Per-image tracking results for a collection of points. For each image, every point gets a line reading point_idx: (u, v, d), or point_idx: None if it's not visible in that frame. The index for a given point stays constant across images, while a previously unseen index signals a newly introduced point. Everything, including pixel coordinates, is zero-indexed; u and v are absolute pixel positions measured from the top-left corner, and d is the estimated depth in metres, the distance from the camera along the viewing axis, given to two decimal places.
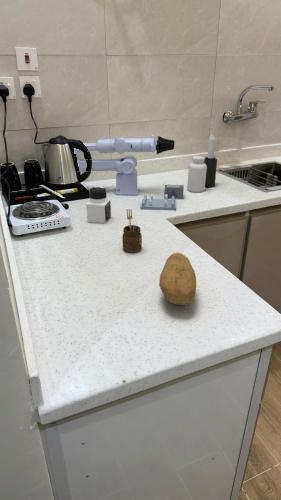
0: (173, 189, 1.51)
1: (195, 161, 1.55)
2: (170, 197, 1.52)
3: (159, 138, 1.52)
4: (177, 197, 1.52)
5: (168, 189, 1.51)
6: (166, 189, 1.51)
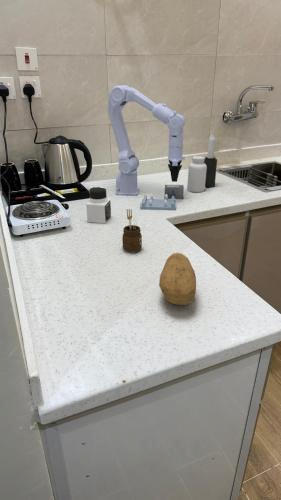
0: (173, 189, 1.51)
1: (195, 161, 1.55)
2: (170, 197, 1.52)
3: (180, 161, 1.51)
4: (178, 197, 1.52)
5: (168, 189, 1.51)
6: (166, 189, 1.51)
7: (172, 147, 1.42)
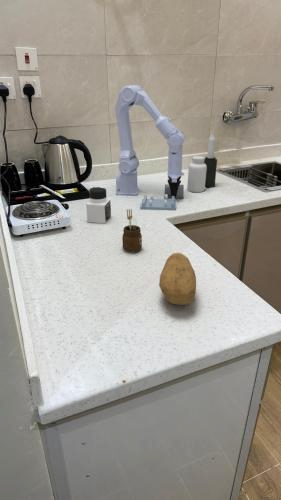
0: None
1: (195, 161, 1.55)
2: (170, 197, 1.52)
3: (179, 178, 1.53)
4: (178, 196, 1.52)
5: (168, 189, 1.51)
6: (166, 189, 1.51)
7: (171, 164, 1.46)
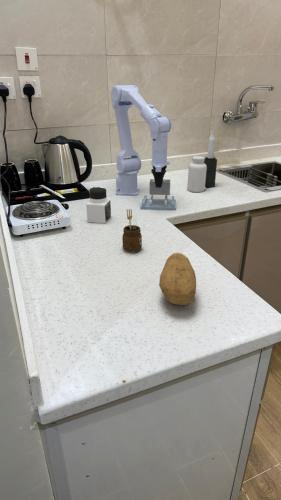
0: None
1: (195, 161, 1.55)
2: (156, 192, 1.41)
3: (164, 167, 1.40)
4: (164, 192, 1.40)
5: (153, 184, 1.39)
6: (151, 184, 1.39)
7: (155, 152, 1.33)
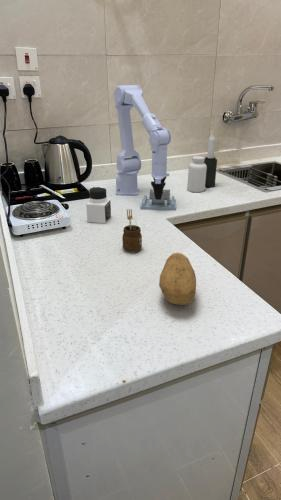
0: None
1: (195, 161, 1.55)
2: (155, 203, 1.42)
3: (164, 178, 1.44)
4: (163, 202, 1.42)
5: (153, 194, 1.41)
6: (151, 194, 1.41)
7: (155, 164, 1.35)
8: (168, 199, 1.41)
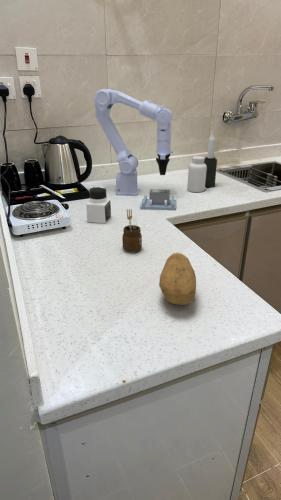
0: (158, 194, 1.41)
1: (195, 161, 1.55)
2: (155, 203, 1.42)
3: (168, 155, 1.53)
4: (163, 202, 1.42)
5: (153, 194, 1.41)
6: (151, 194, 1.41)
7: (160, 141, 1.45)
8: (168, 199, 1.41)
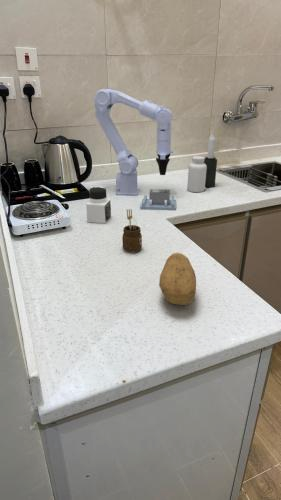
0: (158, 194, 1.41)
1: (195, 161, 1.55)
2: (155, 203, 1.42)
3: (168, 155, 1.53)
4: (163, 202, 1.42)
5: (153, 194, 1.41)
6: (151, 194, 1.41)
7: (160, 141, 1.45)
8: (168, 199, 1.41)
